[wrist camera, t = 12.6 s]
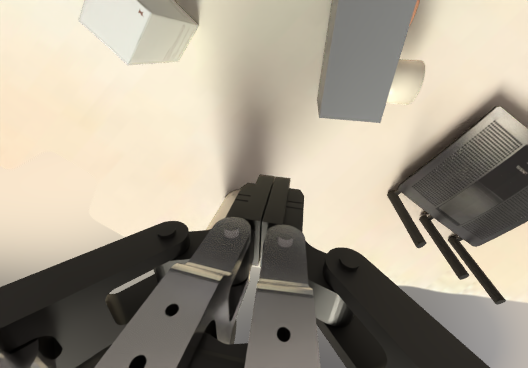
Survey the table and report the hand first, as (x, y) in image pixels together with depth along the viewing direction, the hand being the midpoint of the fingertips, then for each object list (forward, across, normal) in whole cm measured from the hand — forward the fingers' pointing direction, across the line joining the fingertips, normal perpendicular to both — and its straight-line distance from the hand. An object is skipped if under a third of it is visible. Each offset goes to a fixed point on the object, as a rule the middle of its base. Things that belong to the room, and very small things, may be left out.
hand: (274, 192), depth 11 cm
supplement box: (+32, -22, +9) cm, 40 cm away
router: (+32, +32, -12) cm, 47 cm away
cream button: (+26, +11, +4) cm, 29 cm away
